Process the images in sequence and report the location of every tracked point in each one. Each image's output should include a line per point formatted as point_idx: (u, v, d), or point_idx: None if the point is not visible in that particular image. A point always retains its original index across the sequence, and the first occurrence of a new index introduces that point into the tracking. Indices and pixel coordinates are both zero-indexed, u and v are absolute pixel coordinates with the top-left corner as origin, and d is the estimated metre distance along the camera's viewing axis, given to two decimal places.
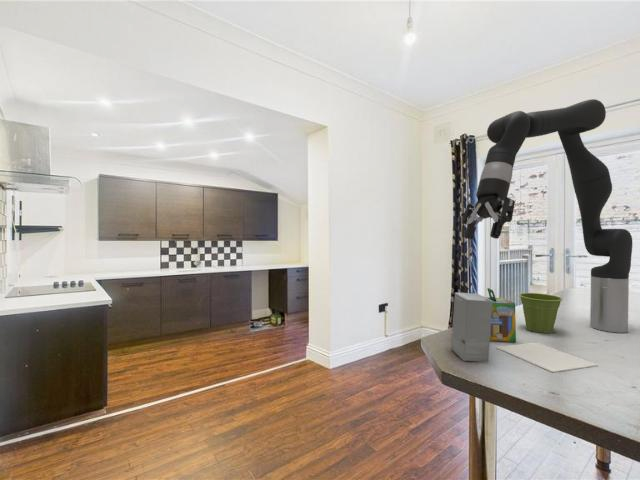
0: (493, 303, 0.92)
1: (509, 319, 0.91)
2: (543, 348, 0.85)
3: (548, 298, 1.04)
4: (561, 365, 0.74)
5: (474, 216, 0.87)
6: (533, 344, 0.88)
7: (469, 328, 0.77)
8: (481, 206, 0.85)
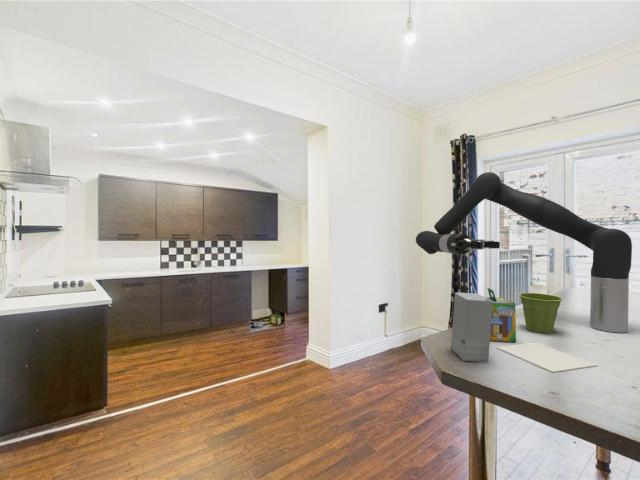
0: (493, 303, 0.92)
1: (509, 319, 0.91)
2: (543, 348, 0.85)
3: (549, 298, 1.04)
4: (561, 365, 0.74)
5: None
6: (533, 344, 0.88)
7: (469, 328, 0.77)
8: (470, 248, 1.09)
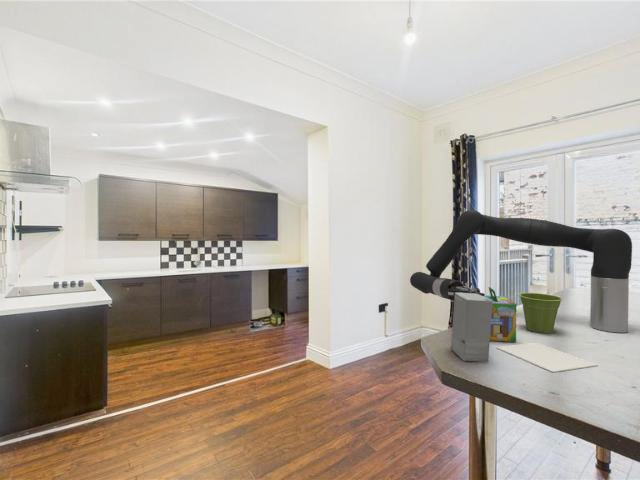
0: (494, 304, 0.91)
1: (510, 319, 0.90)
2: (543, 348, 0.85)
3: (549, 298, 1.04)
4: (561, 365, 0.74)
5: None
6: (533, 344, 0.88)
7: (469, 328, 0.77)
8: None
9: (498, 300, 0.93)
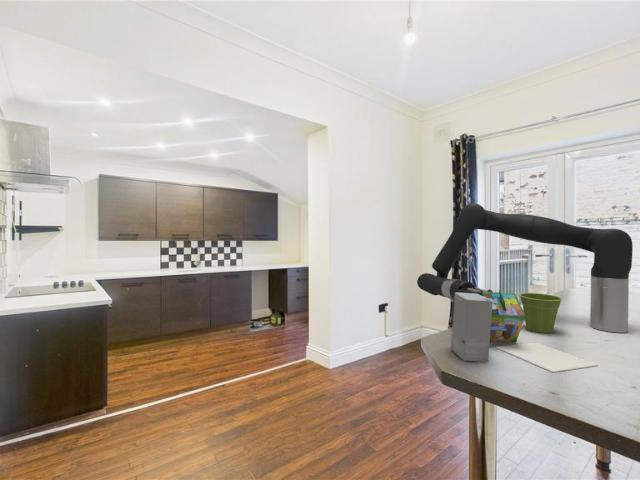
0: (501, 315, 0.85)
1: (515, 327, 0.87)
2: (543, 348, 0.85)
3: (549, 298, 1.04)
4: (561, 365, 0.74)
5: None
6: (533, 344, 0.88)
7: (469, 328, 0.77)
8: None
9: (507, 307, 0.87)
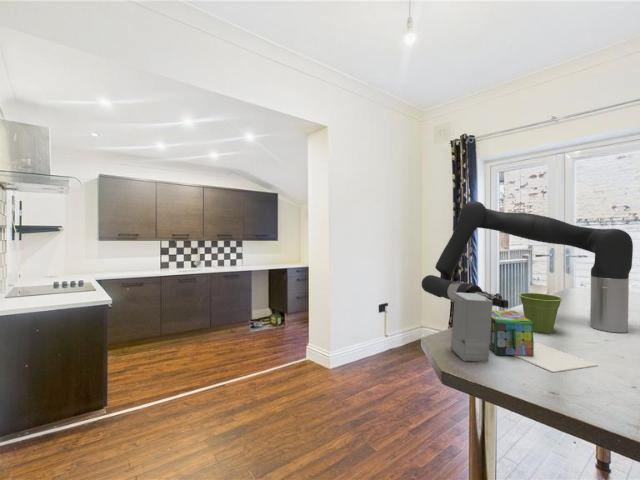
0: None
1: None
2: (543, 348, 0.85)
3: (549, 298, 1.04)
4: (561, 365, 0.74)
5: None
6: None
7: (469, 328, 0.77)
8: None
9: (517, 344, 0.80)
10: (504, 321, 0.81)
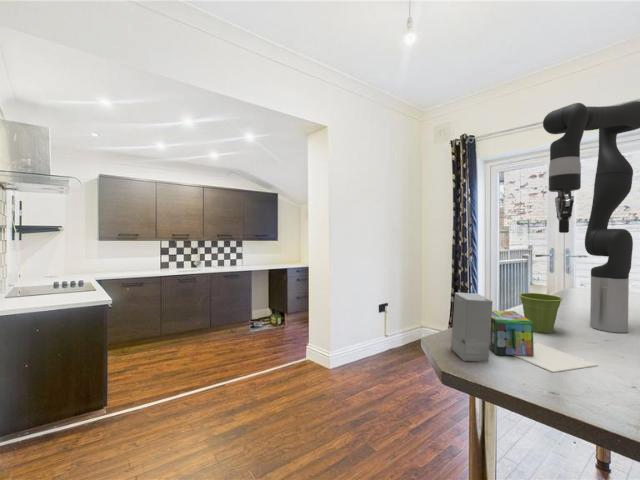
0: None
1: None
2: (543, 348, 0.85)
3: (549, 298, 1.04)
4: (561, 365, 0.74)
5: None
6: (533, 344, 0.88)
7: (469, 328, 0.77)
8: None
9: (517, 344, 0.80)
10: (504, 321, 0.81)
